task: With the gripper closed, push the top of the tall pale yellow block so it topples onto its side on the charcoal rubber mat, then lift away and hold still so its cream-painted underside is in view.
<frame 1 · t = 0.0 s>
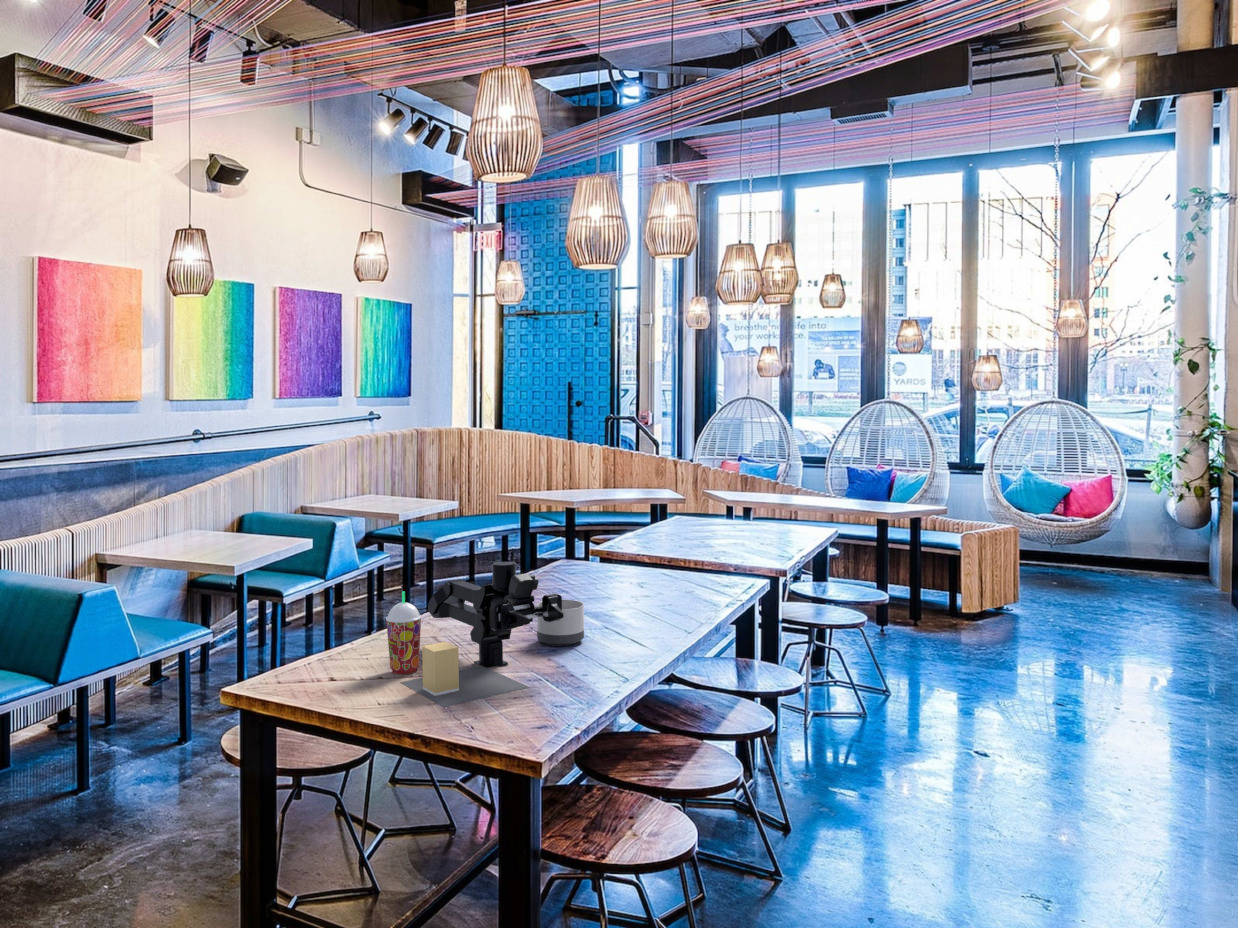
hand: (546, 618, 212), 17 cm above the table, tool horizontal, fingers open, 9 cm apart
pale yellow block: (440, 689, 211), resting on charcoal mat
charcoal mat: (464, 686, 215), on the table
planter: (560, 642, 255), on the table
smoothie: (404, 673, 226), on the table
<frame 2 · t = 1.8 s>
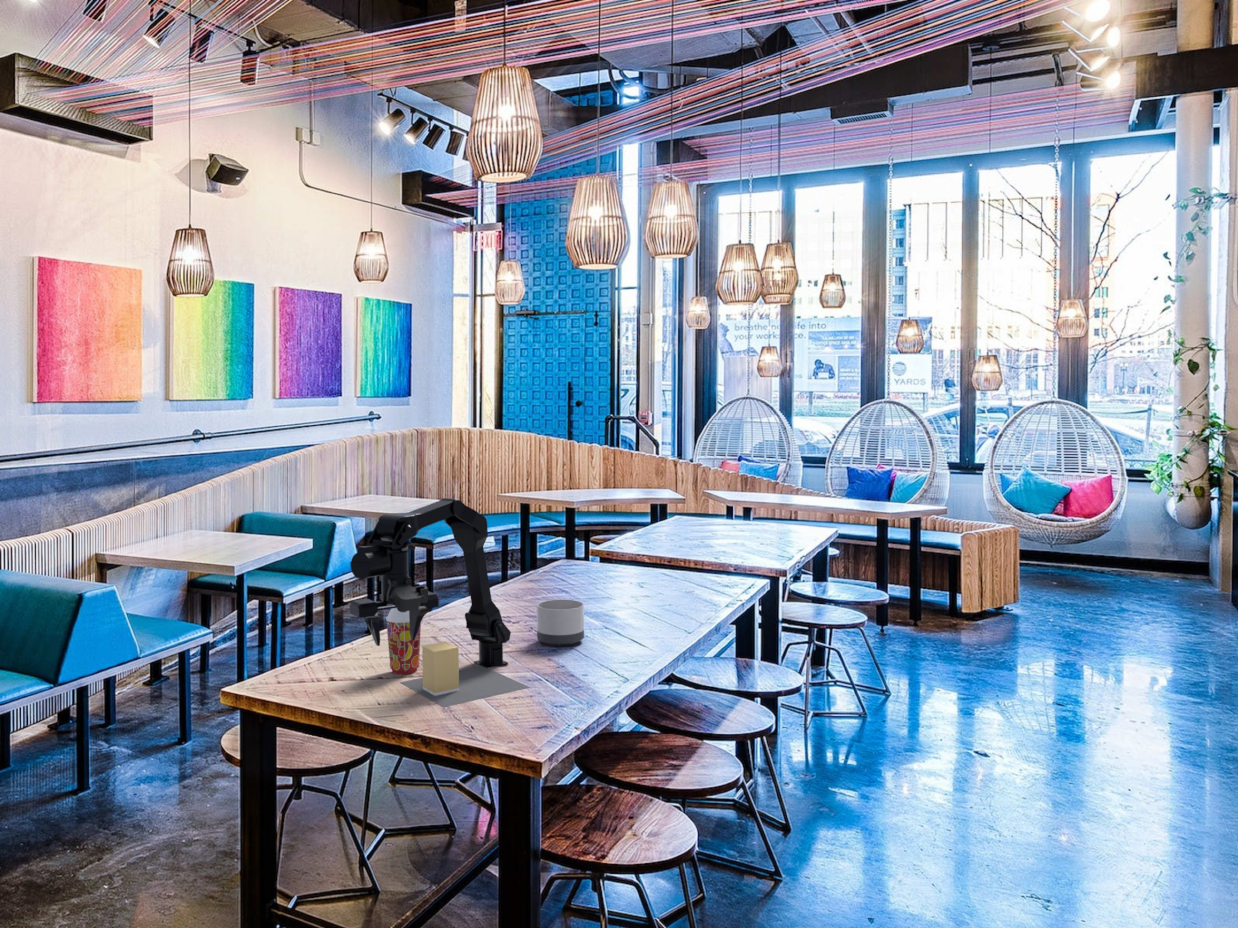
hand: (395, 642, 204), 13 cm above the table, tool pointing down, fingers open, 8 cm apart
nothing on the table moved.
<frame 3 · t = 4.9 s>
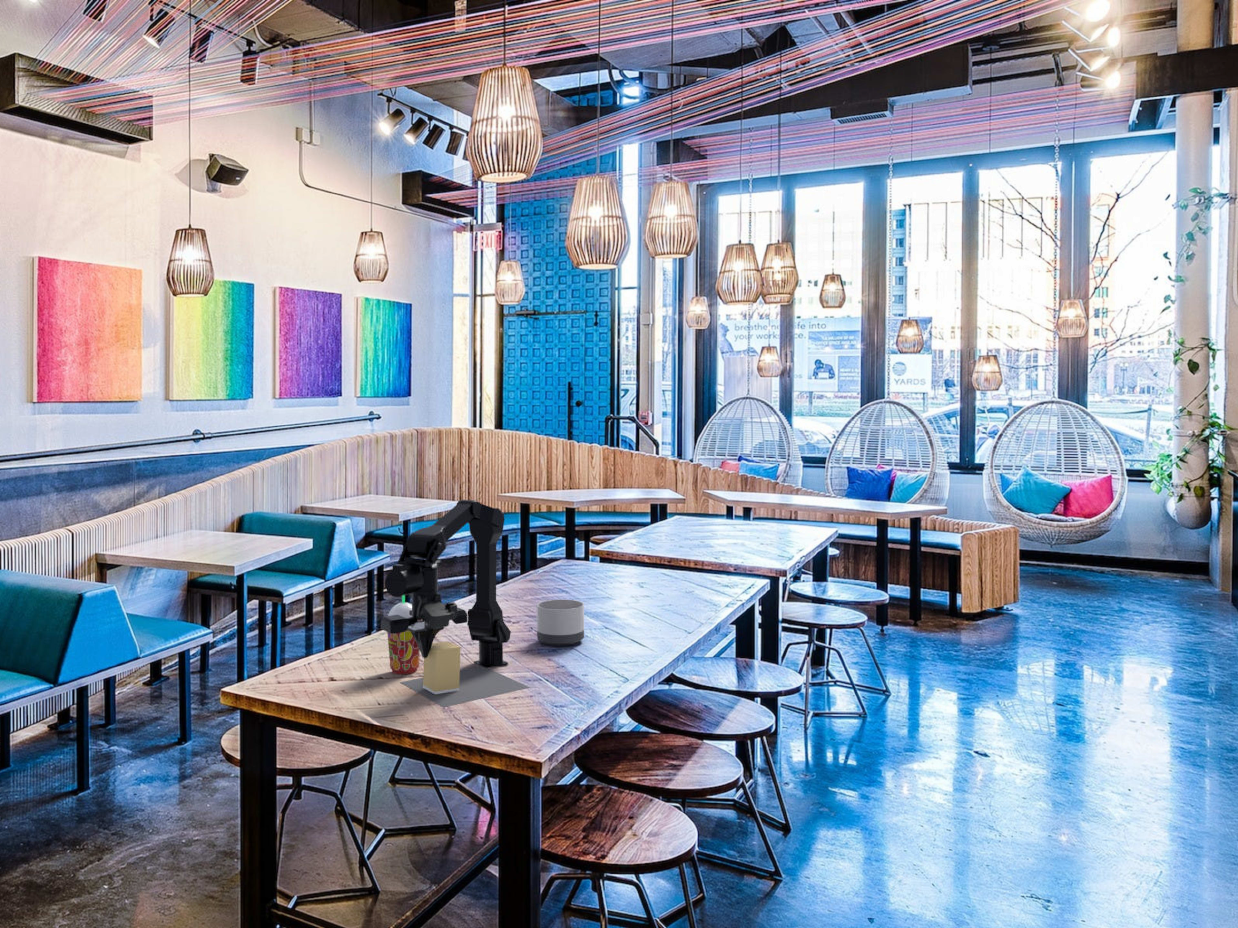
hand: (425, 657, 209), 9 cm above the table, tool pointing down, fingers closed
pale yellow block: (440, 689, 211), point 1 cm above the table, touching charcoal mat, gripper
everything else where it was.
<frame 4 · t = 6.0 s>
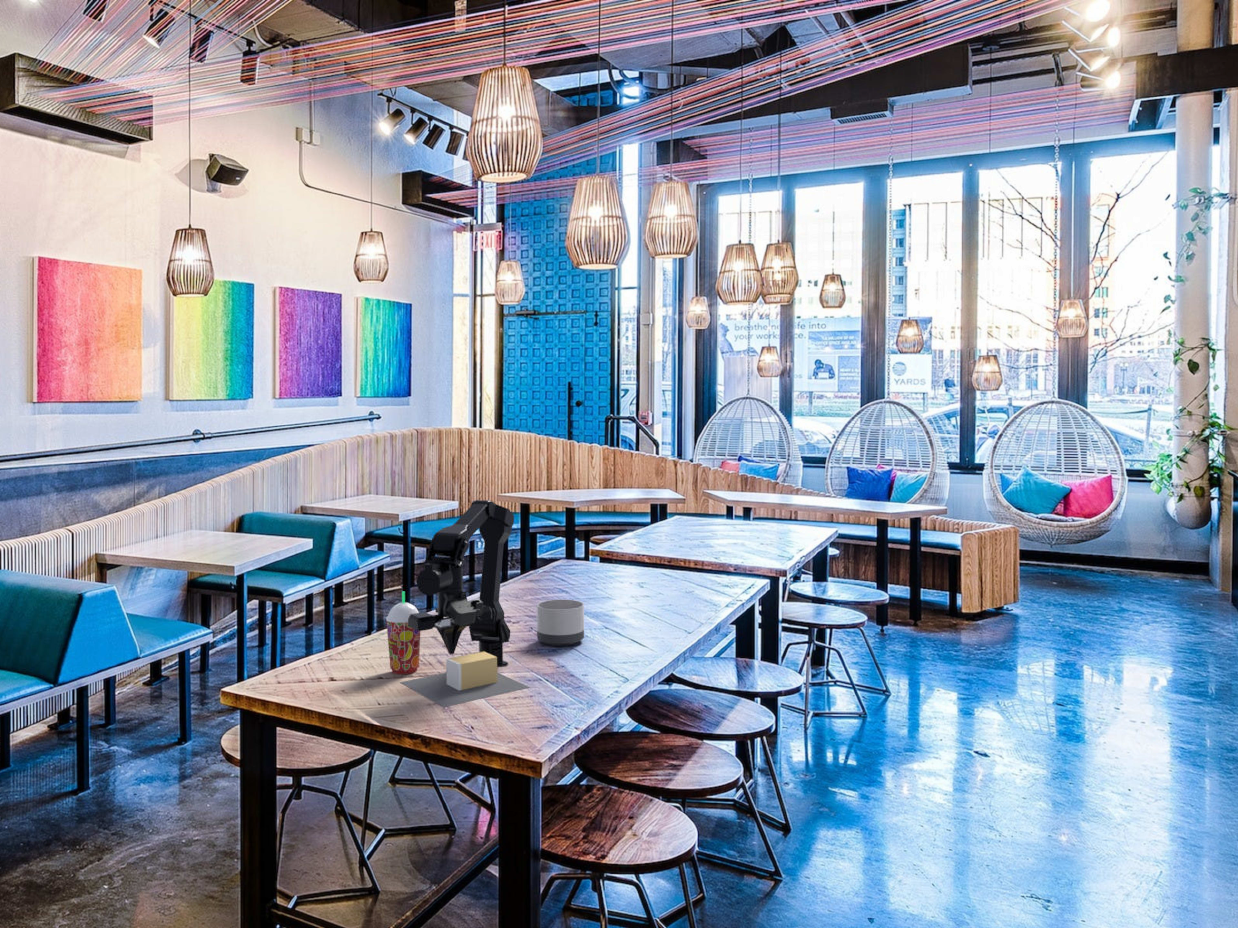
hand: (451, 653, 213), 8 cm above the table, tool pointing down, fingers closed
pale yellow block: (452, 674, 213), point 3 cm above the table, tilted 90°, touching charcoal mat
everything else where it was.
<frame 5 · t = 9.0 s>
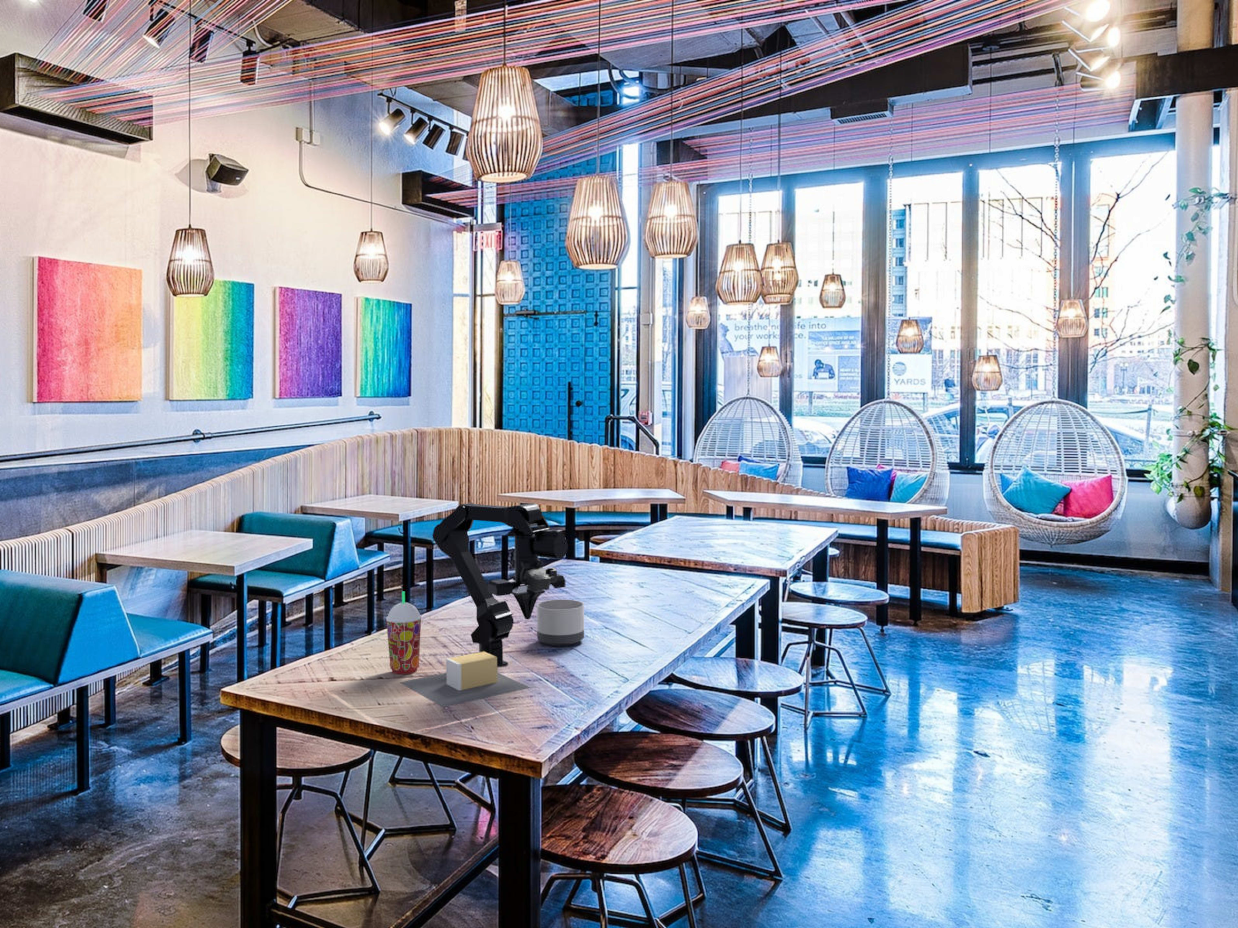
hand: (527, 618, 226), 13 cm above the table, tool pointing down, fingers closed
nothing on the table moved.
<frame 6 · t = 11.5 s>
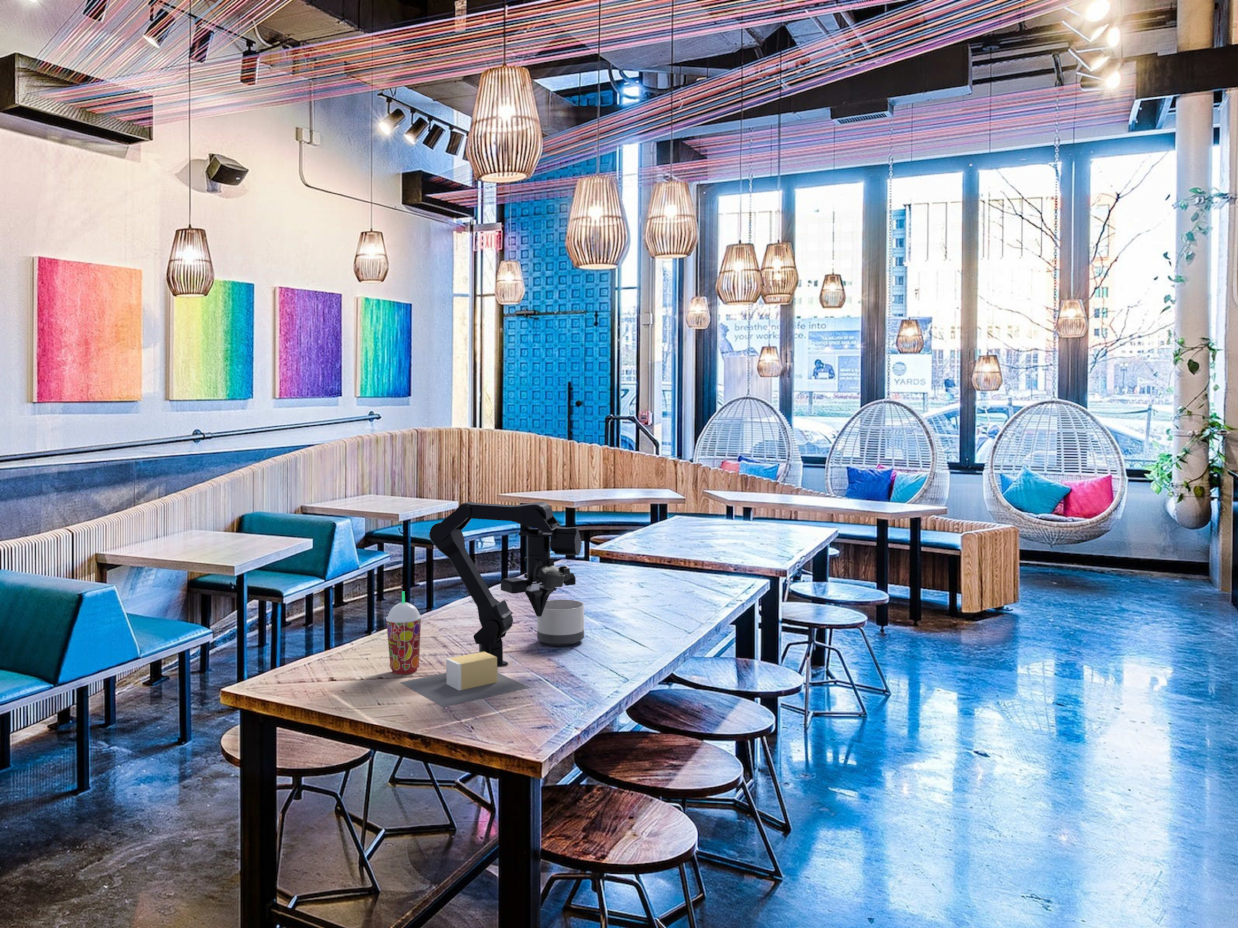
hand: (538, 616, 229), 13 cm above the table, tool pointing down, fingers closed
nothing on the table moved.
at the end: pale yellow block tilted 90°; pale yellow block inside the target area (0.5 cm from its centre), point 3.5 cm above the table; pale yellow block touching charcoal mat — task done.
